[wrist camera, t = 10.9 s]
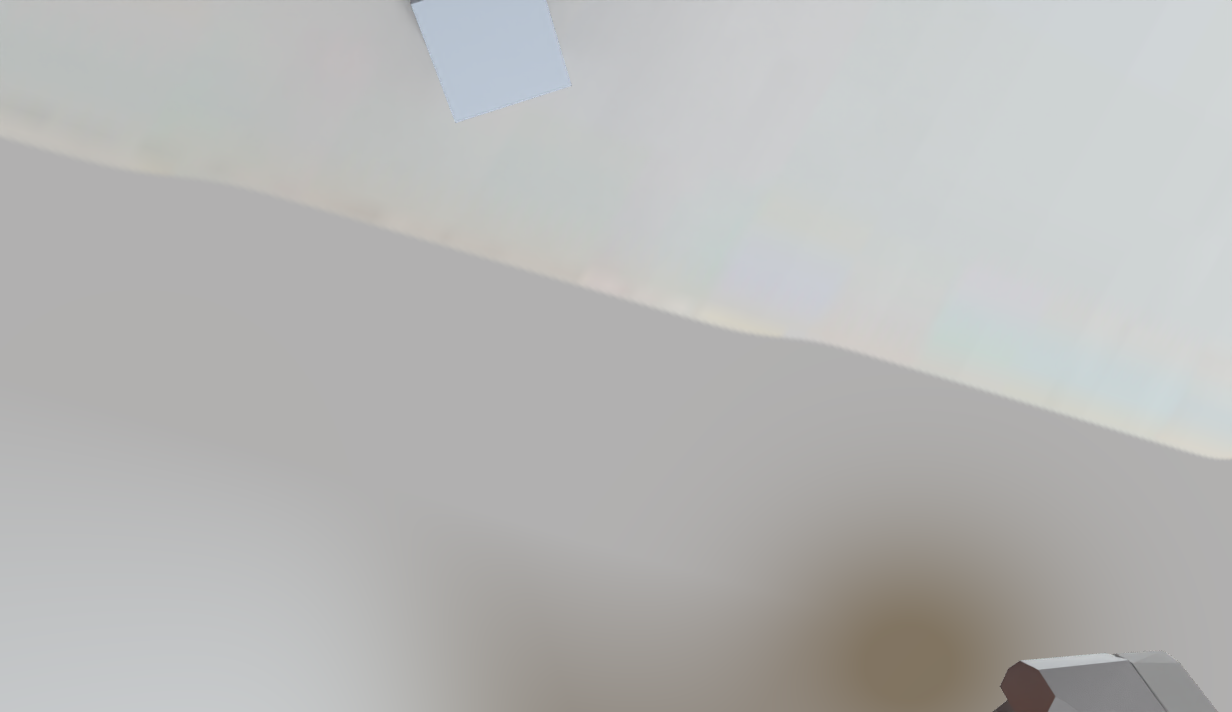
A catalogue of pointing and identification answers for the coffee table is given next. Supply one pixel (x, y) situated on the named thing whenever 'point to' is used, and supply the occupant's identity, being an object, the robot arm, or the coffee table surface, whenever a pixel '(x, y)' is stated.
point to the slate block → (491, 52)
